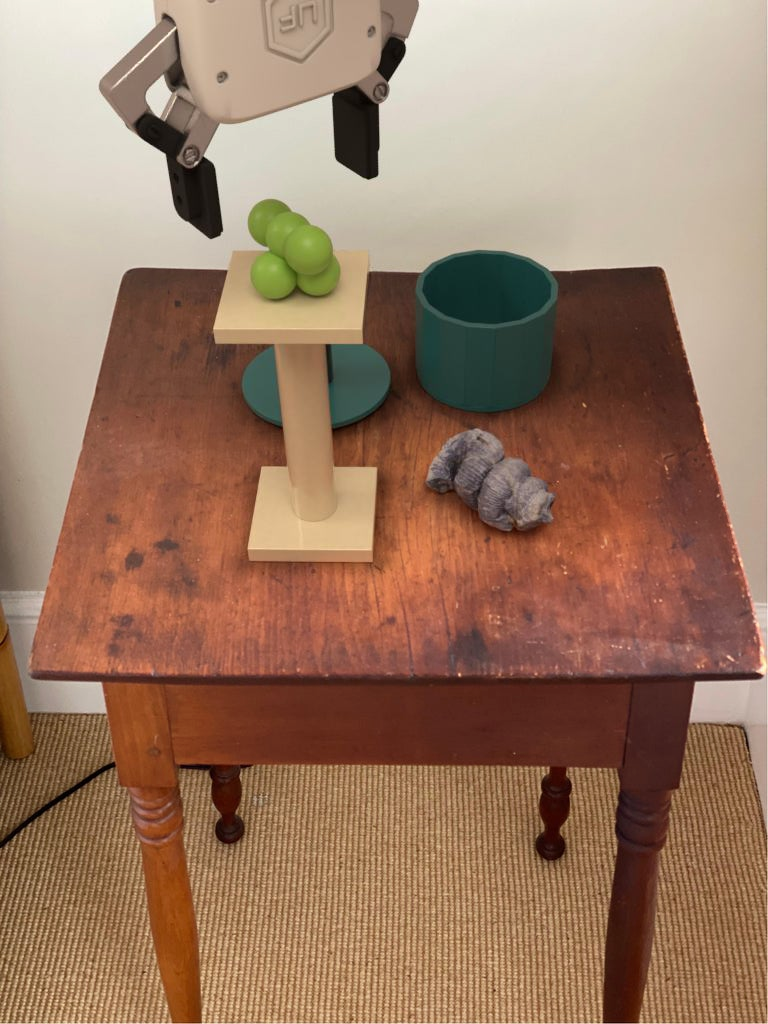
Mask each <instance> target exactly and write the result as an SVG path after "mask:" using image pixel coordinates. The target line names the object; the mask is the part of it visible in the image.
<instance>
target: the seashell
mask: <svg viewBox="0 0 768 1024" xmlns="http://www.w3.org/2000/svg"><path fill="white" fill-rule="evenodd" d="M427 470H428V471H427V477H426V478H425V480H424V484H425V485H426V486H427V487H429V488H430V489H433V490H436V491H437V492H439V493H442V494H445V493H446V492H447V491H450V490H455V492H456V493H457V495H458V497H459V498H460V499H461V500H462V502H463V503H464V504H465V505H466V506H467V507H469V508H470V509H472V510H474V511H477V514H478V516H479V520H481V521H482V522H484V523H485V524H487V525H488V526H490V527H492V528H496V529H498V530H500V531H504V532H511V531H512V530H513V529H514V527H515V528H516V530H518V531H519V532H521V531H522V532H524V531H525V532H529V531H531V530H532V529H535V528H537V527H538V526H540V525H549V524H550V523H551V522H552V523H553V521H554V520H555V519H554V517H553V514H552V512H551V509H552V507H553V505H554V503H555V500H556V493H555V492H554V491H551V492H549V486H548V483H547V481H546V480H544V479H542V478H540V477H536V476H532V470H531V467H529V465H528V463H527V462H525V461H524V460H523V459H522V458H518V457H512V456H507V457H506V452H505V448H504V445H503V442H502V441H501V440H500V439H499V438H498V437H497V436H495V435H494V434H493V433H491V432H490V431H489V430H482V429H480V428H478V427H477V428H473V429H468V430H465V431H462V432H459V433H458V434H455V435H454V436H453V437H449V438H448V440H446V441H445V443H444V444H443V445H442V446H441V449H440V451H439V452H438V453H437V455H435V456H434V458H433V459H432V462H431V463H430V465H429V467H428V469H427Z"/></svg>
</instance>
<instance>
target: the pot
mask: <svg viewBox="0 0 768 1024" xmlns="http://www.w3.org/2000/svg"><path fill="white" fill-rule="evenodd" d="M558 295H559V283H558V280H556V278H555V276H554V275H553V273H552V272H551V271H550V269H549V268H548V267H546V266H544V265H543V264H541V263H539V262H537V261H536V260H534V259H532V258H530V257H528V256H524V255H520V254H518V253H513V252H510V251H505V250H493V249H492V250H490V249H474V250H468V251H461V252H456V253H452V254H449V255H446V256H445V257H442V258H440V259H438V260H437V259H436V260H435V261H433V262H431V263H430V264H429V265H428V266H427V267H426V268H425V269H424V270H423V271H422V272H421V273H420V274H419V275H418V277H417V281H416V285H415V290H414V301H415V302H414V306H415V307H414V310H415V311H414V314H415V315H414V316H415V317H414V318H415V319H414V320H415V323H414V324H415V328H414V329H415V331H414V332H415V370H416V375H417V379H418V382H419V384H420V385H421V388H422V389H423V390H424V391H425V392H426V393H427V394H428V395H429V396H431V397H432V398H433V399H435V400H436V401H438V402H440V403H442V404H444V405H446V406H449V407H451V408H455V409H459V410H461V411H466V412H476V413H495V412H503V411H508V410H514V409H516V408H520V407H521V406H524V405H526V404H528V403H530V402H531V401H533V400H535V399H536V398H538V396H540V395H541V394H542V393H543V391H545V389H546V387H547V386H548V383H549V381H550V378H551V370H552V361H553V350H554V339H555V330H556V318H557V308H558V299H559V298H558Z"/></svg>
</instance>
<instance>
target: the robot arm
mask: <svg viewBox="0 0 768 1024" xmlns="http://www.w3.org/2000/svg"><path fill="white" fill-rule="evenodd" d="M152 1H153V13H154V22H155V26H154V28H152V29H151V30H150V31H149V32H148V33H147V34H145V36H144V37H143V38H142V39H141V40H139V42H138V43H137V44H136V45H135V46H134V47H132V48H131V49H130V50H129V51H128V52H127V53H126V54H125V55H124V56H123V57H121V59H119V61H117V63H116V64H114V66H113V67H112V68H111V69H110V70H109V71H108V72H106V73H105V74H104V76H102V78H100V80H99V82H98V90H99V93H100V94H101V95H102V97H103V98H104V99H105V101H106V102H107V103H108V105H109V106H110V107H111V108H112V110H113V111H114V112H115V113H116V114H117V116H118V117H119V118H120V119H121V121H123V123H124V125H125V127H126V128H127V129H128V130H129V131H130V132H131V133H133V134H135V135H136V136H137V137H139V139H141V140H142V141H144V142H145V143H147V144H148V145H150V146H151V147H153V148H155V149H156V150H158V151H160V152H161V153H163V154H165V159H166V166H167V173H168V178H169V184H170V192H171V197H172V203H173V208H174V210H175V211H176V213H177V215H178V216H179V218H181V219H182V220H183V221H184V222H187V223H189V224H190V225H191V226H192V227H194V228H195V229H196V230H197V231H199V232H200V233H201V234H203V235H204V236H205V237H206V238H208V239H209V240H213V239H216V238H219V237H221V235H222V233H223V232H224V225H223V217H222V209H221V202H220V194H219V185H218V177H217V171H216V170H217V169H216V166H215V164H214V162H212V161H211V160H210V159H208V158H207V157H205V153H206V152H207V150H208V148H209V146H210V145H211V142H212V141H213V138H214V137H215V134H216V132H217V130H218V128H219V126H220V124H221V125H222V124H223V125H237V124H241V123H246V122H250V121H253V120H256V119H260V118H263V117H266V116H270V115H271V114H275V113H278V112H281V111H285V110H288V109H290V108H293V107H296V106H299V105H302V104H305V103H309V102H312V101H315V100H317V99H321V98H324V97H326V96H329V95H332V94H333V95H332V96H331V104H332V105H331V107H332V109H331V110H332V125H333V126H332V128H333V131H332V132H333V147H334V148H333V149H334V158H335V161H336V162H337V163H339V164H340V165H342V166H343V167H345V168H346V169H348V170H350V171H351V172H353V173H354V174H356V175H358V176H359V177H361V178H363V179H365V180H367V181H369V180H373V179H375V178H378V177H379V173H380V172H379V171H380V170H379V168H380V167H379V151H380V148H381V140H380V139H381V138H380V136H381V135H380V134H381V133H380V104H383V103H385V101H386V100H387V99H388V97H389V95H390V90H391V87H390V84H389V82H390V80H391V79H392V78H393V75H394V74H395V73H396V71H397V70H398V67H399V66H400V64H401V63H402V61H403V60H404V58H405V56H406V52H407V45H406V43H405V42H406V41H407V39H409V37H410V35H411V34H410V33H411V31H412V28H413V26H414V23H415V20H416V17H417V14H418V12H419V9H420V1H419V0H152ZM161 77H163V79H164V82H165V84H166V87H167V89H168V90H169V92H170V93H171V94H170V96H169V99H168V100H167V102H166V105H165V107H164V108H163V111H162V112H161V115H160V117H159V116H157V115H156V114H155V112H154V111H153V110H152V109H151V106H150V105H149V103H148V101H147V97H146V95H147V92H148V90H149V89H150V88H151V87H152V86H153V85H154V84H155V83H156V82H158V80H159V79H160V78H161Z"/></svg>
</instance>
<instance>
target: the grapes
mask: <svg viewBox="0 0 768 1024" xmlns="http://www.w3.org/2000/svg"><path fill="white" fill-rule="evenodd" d="M247 228H248V232H249V234H250V236H251V238H252V239H253V240H254V241H255V242H256V244H258V245H260V246H263V248H268V250H269V251H267V252H264V253H262V254H261V255H259V256H258V257H257V258H256V259H255V260H254V262H253V264H252V267H251V271H250V278H251V282H252V285H253V286H254V288H255V289H256V291H257V292H258V293H259V294H261V295H262V296H264V297H266V298H270V299H279V298H283V297H285V296H287V295H288V294H290V293H291V292H292V291H293V289H294V288H295V286H296V284H297V285H298V287H299V288H300V289H301V290H302V291H304V292H305V293H307V294H310V295H315V296H319V295H324V294H327V293H329V292H330V291H332V290H333V289H334V288H335V287H336V285H337V284H338V282H339V279H340V274H341V270H340V265H339V262H338V260H337V258H336V257H335V255H334V254H333V250H334V247H333V242H332V239H331V237H330V236H329V235H328V233H327V232H326V231H325V230H324V229H322V228H320V227H319V226H317V225H313V224H311V223H310V221H309V220H308V219H307V218H306V217H305V216H304V215H302V214H301V213H298V212H295V211H293V210H292V209H291V207H289V205H287V204H286V203H285V202H283V201H282V200H279V199H276V198H266V199H262V200H260V201H258V202H257V203H255V204H254V206H253V207H252V208H251V210H250V211H249V214H248V217H247Z"/></svg>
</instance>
